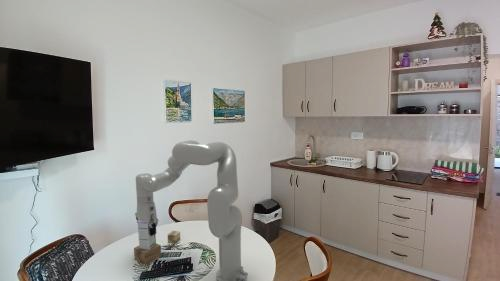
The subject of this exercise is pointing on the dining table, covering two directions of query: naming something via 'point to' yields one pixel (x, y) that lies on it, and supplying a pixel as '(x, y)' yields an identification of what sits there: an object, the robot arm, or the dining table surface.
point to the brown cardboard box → (147, 254)
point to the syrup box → (145, 235)
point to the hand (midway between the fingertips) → (147, 232)
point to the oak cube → (174, 237)
